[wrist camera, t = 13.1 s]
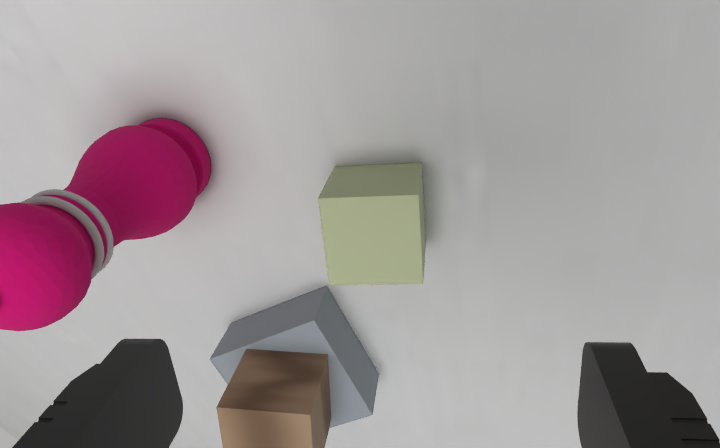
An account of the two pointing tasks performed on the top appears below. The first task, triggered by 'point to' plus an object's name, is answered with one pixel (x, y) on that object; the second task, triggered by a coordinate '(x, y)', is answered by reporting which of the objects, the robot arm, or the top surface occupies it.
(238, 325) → the slate base block
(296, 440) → the walnut block
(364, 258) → the olive block
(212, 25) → the top surface
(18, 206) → the pepper mill
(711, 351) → the top surface
